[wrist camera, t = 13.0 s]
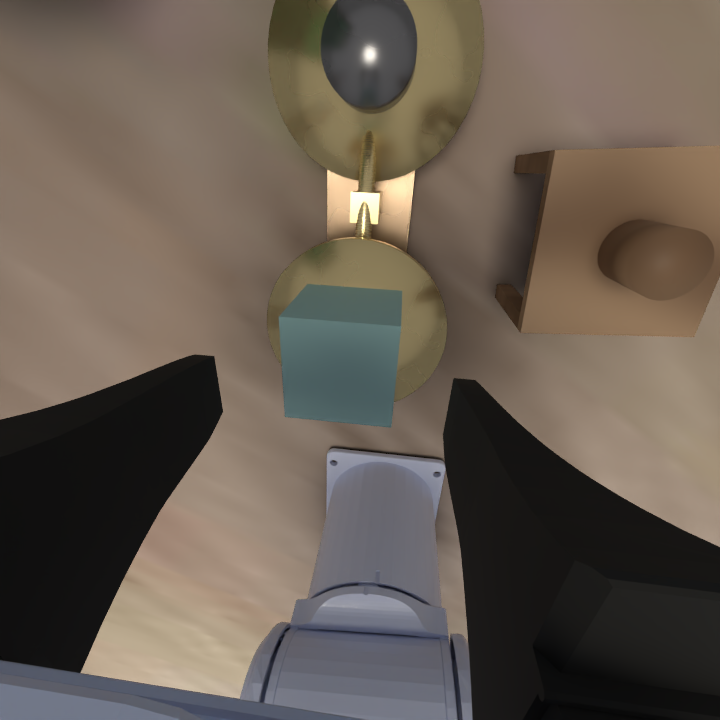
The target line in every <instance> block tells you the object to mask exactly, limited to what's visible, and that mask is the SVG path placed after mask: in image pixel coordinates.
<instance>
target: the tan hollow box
mask: <svg viewBox="0 0 720 720" xmlns="http://www.w3.org/2000/svg"><path fill="white" fill-rule="evenodd" d="M514 173H546V176H545V181H544V187H543V192H542V198H541V203H540V208H539V214H538V219H537V225H536V230H535V236H534V241H533V246H532V252H531V257H530V263H529V268H528V273H527V279H526V284H525V290H524V295H523V297H522V296H521V295H520V294H519V293H518V292H517V290H516V289H515V288H514V287H513V286H512V285H502V284H497V289H496V295H495V298H496V299H497V301H498V302H499V303H500V305H501V306H502V308H503V309H504V310H505V312H506V313H507V315H508V316H509V317H510V319H511V320H512V322H513V323H514V324H515V326H516V327H517V329H518V330H519V331H520V333H545V334H588V335H630V336H673V337H694V336H695V334H696V331H697V329H698V326H699V324H700V322H701V319H702V317H703V315H704V312H705V310H706V307H707V305H708V303H709V300H710V298H711V296H712V293H713V291H714V288H715V286H716V284H717V281H718V279H719V277H720V146H691V147H653V148H614V149H576V150H552V151H545V152H539V153H532V154H525V155H518V156H516V162H515V169H514Z"/></svg>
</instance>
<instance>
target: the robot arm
mask: <svg viewBox="0 0 720 720" xmlns="http://www.w3.org/2000/svg"><path fill="white" fill-rule="evenodd" d="M222 412H223V409H222V403H221V396H220V390H219V384H218V377H217V371H216V365H215V359H214V356H205V355H192V356H188V357H185V358H182V359H179V360H176V361H174V362H171V363H169V364H166V365H164V366H161V367H159V368H156V369H154V370H151V371H149V372H146V373H144V374H141V375H139V376H137V377H134V378H132V379H129V380H127V381H124V382H121V383H119V384H116V385H113V386H111V387H108V388H105V389H103V390H100V391H97V392H95V393H92V394H89V395H86V396H83V397H80V398H77V399H74V400H71V401H68V402H65V403H62V404H58V405H55V406H52V407H48V408H45V409H41V410H38V411H34V412H30V413H26V414H22V415H18V416H14V417H10V418H6V419H2V420H0V720H720V547H718V546H716V545H714V544H712V543H710V542H707V541H705V540H703V539H701V538H699V537H697V536H694V535H692V534H690V533H688V532H686V531H684V530H682V529H680V528H678V527H676V526H674V525H672V524H670V523H668V522H666V521H664V520H662V519H661V518H659V517H657V516H655V515H653V514H651V513H649V512H647V511H645V510H643V509H642V508H640V507H638V506H636V505H635V504H633V503H631V502H629V501H627V500H626V499H624V498H622V497H620V496H619V495H617V494H615V493H614V492H612V491H611V490H609V489H607V488H606V487H604V486H602V485H601V484H599V483H598V482H596V481H594V480H593V479H591V478H590V477H588V476H587V475H585V474H584V473H582V472H581V471H579V470H578V469H576V468H575V467H573V466H572V465H571V464H569V463H568V462H566V461H565V460H564V459H562V458H561V457H560V456H558V455H557V454H555V453H554V452H553V451H551V450H550V449H549V448H548V447H546V446H545V445H544V444H543V443H541V442H540V441H539V440H538V439H537V438H535V437H534V436H533V435H532V434H531V433H530V432H528V431H527V430H526V429H525V428H524V427H523V426H522V425H520V424H519V423H518V422H517V421H516V420H515V419H514V418H513V417H512V416H511V415H510V414H509V413H508V412H507V411H506V410H505V409H504V408H503V407H502V406H501V405H500V404H499V403H498V402H497V401H496V400H495V399H494V398H493V397H492V396H491V395H490V394H489V393H488V392H487V391H486V390H485V389H484V388H483V387H482V386H481V385H480V384H479V383H478V382H477V381H476V380H467V379H457V378H454V380H453V385H452V390H451V395H450V401H449V406H448V411H447V417H446V422H445V427H444V432H443V441H444V458H445V463H444V462H443V461H442V460H437V459H428V458H419V457H410V456H401V455H392V454H383V453H373V452H364V451H355V450H346V449H337V448H332V449H330V450H329V451H328V454H327V510H326V520H325V525H324V529H323V534H322V538H321V542H320V547H319V551H318V555H317V560H316V564H315V568H314V573H313V577H312V581H311V586H310V590H309V594H308V599H298V600H296V604H295V608H294V612H293V616H292V619H291V623H288V622H280V623H278V624H277V625H276V626H275V627H274V628H273V629H272V630H271V631H270V633H269V634H268V636H267V637H266V638H265V639H264V640H263V641H262V642H261V644H260V645H259V647H258V649H257V651H256V653H255V655H254V657H253V659H252V661H251V664H250V667H249V669H248V672H247V675H246V678H245V682H244V685H243V689H242V692H241V696H240V699H237V698H230V697H224V696H218V695H212V694H206V693H200V692H193V691H187V690H181V689H175V688H169V687H163V686H156V685H150V684H144V683H138V682H132V681H126V680H119V679H113V678H107V677H101V676H95V675H89V674H82V673H81V670H82V668H83V666H84V663H85V661H86V659H87V657H88V654H89V652H90V650H91V647H92V645H93V643H94V641H95V638H96V636H97V634H98V631H99V629H100V627H101V625H102V622H103V620H104V618H105V616H106V614H107V612H108V610H109V608H110V606H111V604H112V601H113V599H114V597H115V595H116V593H117V591H118V589H119V587H120V585H121V583H122V581H123V579H124V577H125V575H126V573H127V571H128V569H129V567H130V565H131V563H132V561H133V559H134V557H135V555H136V554H137V552H138V550H139V548H140V546H141V544H142V542H143V540H144V539H145V537H146V535H147V533H148V531H149V530H150V528H151V526H152V524H153V522H154V521H155V519H156V517H157V515H158V513H159V512H160V510H161V509H162V507H163V506H164V504H165V502H166V501H167V499H168V498H169V496H170V495H171V494H172V492H173V491H174V489H175V488H176V486H177V485H178V484H179V482H180V481H181V479H182V478H183V476H184V475H185V474H186V472H187V471H188V469H189V468H190V466H191V465H192V464H193V462H194V461H195V459H196V458H197V456H198V455H199V454H200V452H201V451H202V449H203V448H204V446H205V445H206V443H207V442H208V440H209V439H210V437H211V435H212V433H213V431H214V429H215V427H216V425H217V423H218V421H219V419H220V417H221V415H222ZM332 460H335V461H337V462H333V461H332ZM445 467H446V469H445ZM445 470H446V473H447V478H448V483H449V489H450V494H451V499H452V504H453V509H454V514H455V519H456V525H457V530H458V535H459V542H460V548H461V558H462V569H463V580H464V591H465V604H466V617H467V630H468V643H467V642H466V639H465V637H464V636H463V635H462V634H451V635H450V645H449V639H448V626H447V616H446V609H445V608H442V604H441V592H440V580H439V568H438V556H437V544H436V532H435V520H436V515H437V510H438V505H439V500H440V495H441V490H442V485H443V480H444V475H445ZM434 472H439V473H434Z"/></svg>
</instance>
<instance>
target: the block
mask: <svg viewBox="0 0 720 720" xmlns="http://www.w3.org/2000/svg"><path fill="white" fill-rule="evenodd" d="M401 316H402V291H399V290H385V289H371V288H357V287H343V286H329V285H315V284H307V285H306V286H305V287H304V288H303V290H302V291H301V292H300V293H299V294H298V295H297V296H296V298H295V299H294V300H293V301H292V302H291V303H290V304H289V306H288V307H287V308H286V309H285V310H284V311H283V312H282V314H281V315H280V316H279V330H280V346H281V362H282V377H283V393H284V409H285V417H292V418H302V419H312V420H321V421H331V422H341V423H351V424H361V425H371V426H381V427H391V424H392V414H393V404H394V394H395V384H396V374H397V364H398V354H399V343H400V333H401Z"/></svg>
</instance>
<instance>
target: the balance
mask: <svg viewBox="0 0 720 720" xmlns="http://www.w3.org/2000/svg"><path fill="white" fill-rule="evenodd" d="M483 50H484V28H483V19H482V10H481V6H480V2H479V0H276V1H275V4H274V7H273V12H272V17H271V22H270V28H269V38H268V63H269V73H270V79H271V84H272V89H273V94H274V97H275V100H276V103H277V106H278V109H279V111H280V114H281V116H282V118H283V120H284V123H285V124H286V126H287V128H288V129H289V131H290V133H291V135H292V136H293V137H294V139H295V140H296V141H297V143H298V144H299V145H300V147H301V148H302V149H303V150H304V151H305V152H306V153H307V154H308V155H309V156H310V157H311V158H312V159H313V160H315V161H316V162H317V163H318V164H320V165H321V166H323V167H324V168H326V169H327V242H323V243H321V244H319V245H317V246H314V247H312V248H311V249H309V250H307V251H306V252H304V253H303V254H301V255H300V256H299V257H298V258H297V259H295V260H294V261H293V262H292V263H291V264H290V265H289V266H288V267H287V268H286V269H285V270H284V272H283V273H282V274H281V276H280V277H279V279H278V281H277V282H276V284H275V286H274V289H273V291H272V293H271V297H270V300H269V304H268V312H267V328H268V335H269V339H270V343H271V346H272V349H273V351H274V353H275V356H276V358H277V359H278V361H279V363H280V365H281V366H282V362H281V346H280V330H279V316H280V315H281V314H282V312H283V311H284V310H285V309H286V308H287V307H288V306H289V304H290V303H291V302H292V301H293V300H294V299H295V298H296V296H297V295H298V294H299V293H300V292H301V291H302V290H303V288H304V287H305V286H306V285H307V284H315V285H329V286H343V287H357V288H371V289H385V290H399V291H402V316H401V333H400V343H399V354H398V364H397V374H396V384H395V394H394V402H396V401H398V400H401V399H403V398H405V397H406V396H408V395H410V394H411V393H413V392H414V391H415V390H417V389H418V388H419V387H421V386H422V385H423V384H424V383H425V382H426V381H427V380H428V378H429V377H430V376H431V374H432V373H433V372H434V370H435V369H436V367H437V365H438V363H439V362H440V359H441V357H442V354H443V352H444V348H445V343H446V337H447V317H446V312H445V307H444V303H443V300H442V298H441V295H440V292H439V290H438V288H437V286H436V284H435V282H434V280H433V279H432V278H431V276H430V275H429V273H428V272H427V271H426V270H425V269H424V268H423V266H422V265H421V264H420V263H419V262H418V261H416V260H415V259H414V258H413V257H411V256H410V255H409V254H407V245H408V235H409V225H410V215H411V205H412V195H413V185H414V175H415V170H417V169H418V168H420V167H421V166H423V165H424V164H426V163H427V162H429V161H430V160H431V159H432V158H433V157H434V156H436V155H437V154H438V153H439V152H440V151H441V150H442V149H443V148H444V147H445V146H446V145H447V143H448V142H449V141H450V140H451V138H452V137H453V136H454V134H455V133H456V132H457V130H458V129H459V127H460V125H461V123H462V122H463V120H464V118H465V116H466V115H467V112H468V110H469V108H470V105H471V103H472V101H473V98H474V95H475V92H476V89H477V86H478V82H479V77H480V73H481V68H482V60H483Z"/></svg>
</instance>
